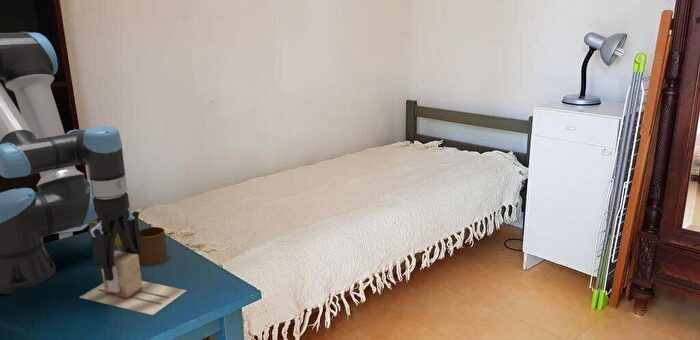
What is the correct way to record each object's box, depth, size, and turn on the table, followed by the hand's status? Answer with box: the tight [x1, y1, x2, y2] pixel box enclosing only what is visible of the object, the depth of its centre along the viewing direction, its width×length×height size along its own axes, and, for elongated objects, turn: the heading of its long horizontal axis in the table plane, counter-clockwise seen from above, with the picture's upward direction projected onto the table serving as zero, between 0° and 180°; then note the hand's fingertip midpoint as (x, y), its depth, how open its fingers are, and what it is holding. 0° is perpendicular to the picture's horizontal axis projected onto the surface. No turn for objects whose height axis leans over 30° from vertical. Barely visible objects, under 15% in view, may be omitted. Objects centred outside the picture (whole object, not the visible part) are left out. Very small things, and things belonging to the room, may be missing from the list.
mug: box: [120, 226, 169, 267], centre depth 147 cm, size 12×8×9 cm, turn 134°
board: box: [79, 280, 187, 316], centre depth 132 cm, size 22×12×1 cm, turn 69°
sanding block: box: [100, 250, 143, 298], centre depth 131 cm, size 7×5×9 cm
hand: (123, 285), depth 132 cm, fingers closed on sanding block, 5 cm apart
